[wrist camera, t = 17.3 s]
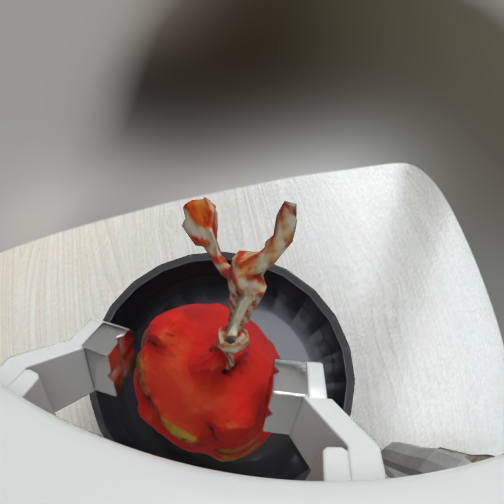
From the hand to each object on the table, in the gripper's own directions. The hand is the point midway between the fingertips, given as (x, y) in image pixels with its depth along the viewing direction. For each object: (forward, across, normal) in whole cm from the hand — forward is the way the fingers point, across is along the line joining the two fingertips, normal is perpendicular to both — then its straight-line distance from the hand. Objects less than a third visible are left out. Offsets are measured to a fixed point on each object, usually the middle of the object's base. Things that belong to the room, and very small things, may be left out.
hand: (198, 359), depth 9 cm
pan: (+7, 0, +8) cm, 11 cm away
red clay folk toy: (+6, 0, +7) cm, 9 cm away
